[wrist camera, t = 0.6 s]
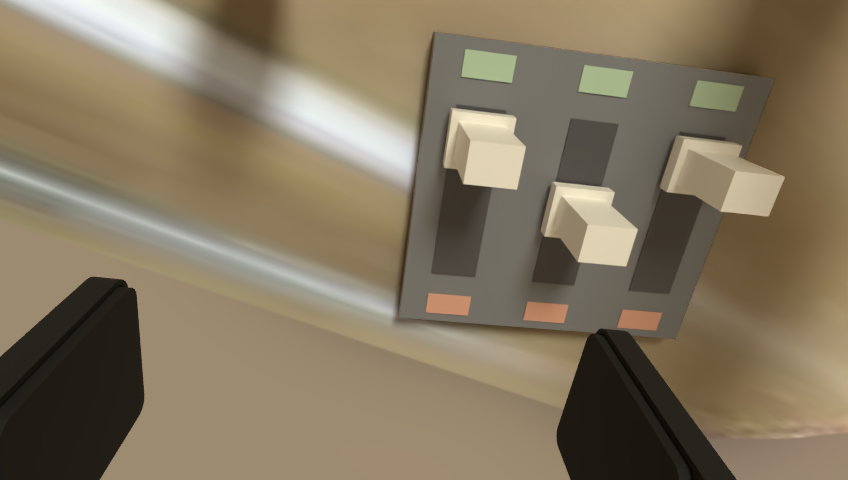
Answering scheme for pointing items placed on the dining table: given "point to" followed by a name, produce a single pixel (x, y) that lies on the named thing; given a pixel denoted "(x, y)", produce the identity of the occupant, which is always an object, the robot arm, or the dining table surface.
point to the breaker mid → (588, 224)
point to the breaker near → (484, 148)
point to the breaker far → (720, 176)
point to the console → (567, 163)
